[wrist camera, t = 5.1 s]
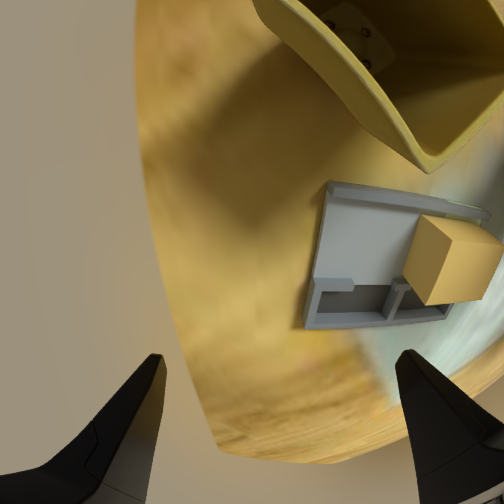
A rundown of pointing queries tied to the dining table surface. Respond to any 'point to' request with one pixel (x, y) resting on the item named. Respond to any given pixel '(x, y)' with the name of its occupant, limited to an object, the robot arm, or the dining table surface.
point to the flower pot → (403, 66)
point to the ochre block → (451, 260)
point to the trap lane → (372, 257)
